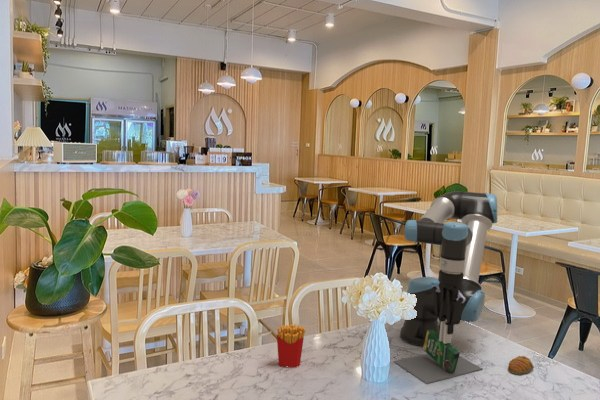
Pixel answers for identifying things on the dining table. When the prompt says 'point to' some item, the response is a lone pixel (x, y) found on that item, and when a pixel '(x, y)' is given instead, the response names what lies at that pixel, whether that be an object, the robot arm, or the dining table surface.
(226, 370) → the dining table surface
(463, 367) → the slate mat
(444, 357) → the coffee box
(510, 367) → the pastry
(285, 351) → the french fries
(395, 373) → the dining table surface
